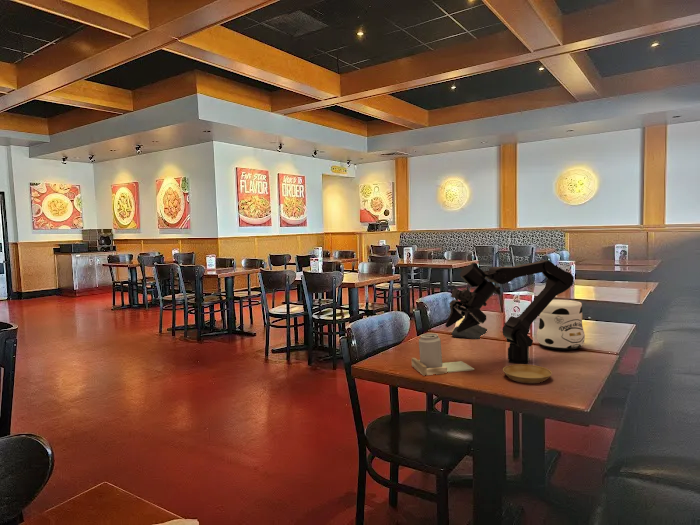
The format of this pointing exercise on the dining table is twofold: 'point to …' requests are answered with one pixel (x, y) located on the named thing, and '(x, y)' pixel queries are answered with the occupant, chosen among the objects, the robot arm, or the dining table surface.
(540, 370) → the plant saucer
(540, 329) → the milk container
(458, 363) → the mat
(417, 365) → the shelf lane
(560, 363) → the dining table surface
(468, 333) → the dark slate chunk
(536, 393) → the dining table surface
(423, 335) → the can
